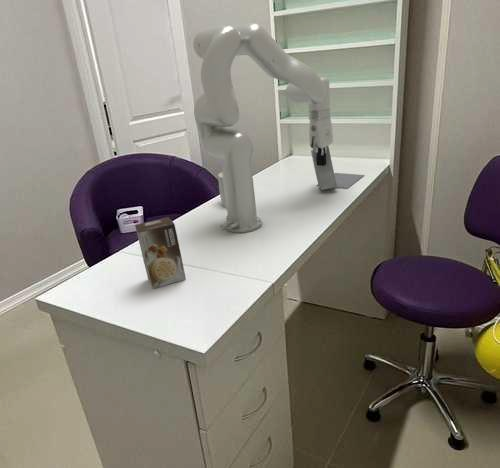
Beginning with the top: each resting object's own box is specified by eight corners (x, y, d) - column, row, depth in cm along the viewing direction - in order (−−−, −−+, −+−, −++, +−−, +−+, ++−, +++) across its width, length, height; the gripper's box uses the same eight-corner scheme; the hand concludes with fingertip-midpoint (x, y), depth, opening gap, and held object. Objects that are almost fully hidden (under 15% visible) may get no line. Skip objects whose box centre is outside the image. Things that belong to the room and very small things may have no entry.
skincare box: (337, 187, 160) (331, 145, 157) (318, 191, 161) (311, 149, 158) (334, 185, 169) (328, 145, 165) (316, 188, 169) (310, 148, 166)
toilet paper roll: (257, 198, 165) (254, 169, 161) (242, 209, 156) (239, 178, 151) (231, 196, 171) (228, 168, 166) (215, 206, 162) (211, 177, 157)
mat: (347, 189, 164) (347, 188, 164) (316, 186, 172) (316, 185, 172) (364, 175, 178) (364, 175, 177) (335, 173, 185) (335, 172, 185)
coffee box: (180, 269, 117) (169, 215, 110) (186, 279, 111) (175, 223, 105) (147, 279, 114) (134, 224, 107) (151, 289, 108) (138, 232, 102)
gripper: (319, 118, 143) (321, 171, 150) (338, 110, 153) (339, 160, 161) (299, 118, 147) (302, 170, 154) (319, 110, 158) (321, 159, 165)
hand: (321, 164), depth 158 cm, fingers closed
